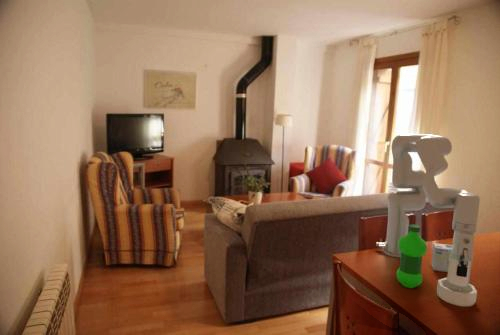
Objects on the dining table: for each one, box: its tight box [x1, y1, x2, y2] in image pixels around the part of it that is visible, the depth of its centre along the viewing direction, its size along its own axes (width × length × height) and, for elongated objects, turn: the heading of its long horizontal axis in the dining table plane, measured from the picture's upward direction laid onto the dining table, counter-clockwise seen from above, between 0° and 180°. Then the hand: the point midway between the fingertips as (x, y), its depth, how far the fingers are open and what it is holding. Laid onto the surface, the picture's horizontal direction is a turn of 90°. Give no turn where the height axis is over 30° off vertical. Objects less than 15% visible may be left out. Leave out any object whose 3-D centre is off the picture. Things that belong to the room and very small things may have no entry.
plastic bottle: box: [396, 223, 428, 289], centre depth 137 cm, size 10×10×25 cm
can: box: [446, 251, 473, 287], centre depth 128 cm, size 7×7×12 cm
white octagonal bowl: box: [436, 277, 478, 308], centre depth 129 cm, size 12×12×5 cm
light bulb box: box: [430, 242, 453, 273], centre depth 153 cm, size 11×7×11 cm, turn 71°
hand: (458, 271), depth 128 cm, fingers closed on can, 7 cm apart
